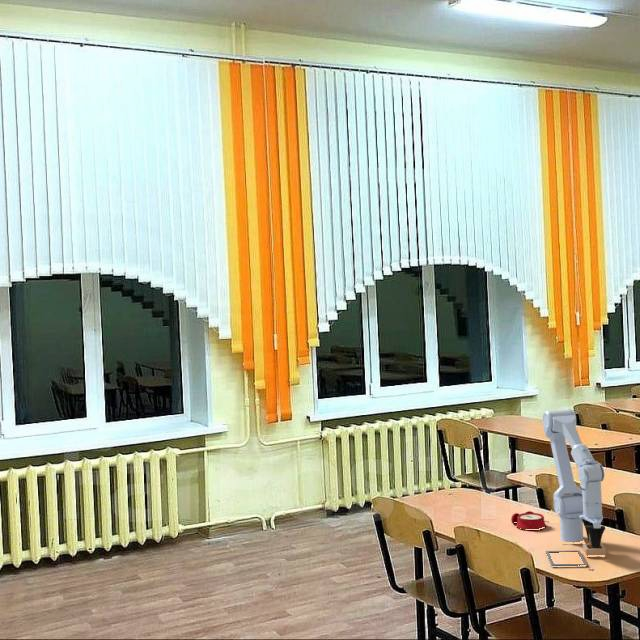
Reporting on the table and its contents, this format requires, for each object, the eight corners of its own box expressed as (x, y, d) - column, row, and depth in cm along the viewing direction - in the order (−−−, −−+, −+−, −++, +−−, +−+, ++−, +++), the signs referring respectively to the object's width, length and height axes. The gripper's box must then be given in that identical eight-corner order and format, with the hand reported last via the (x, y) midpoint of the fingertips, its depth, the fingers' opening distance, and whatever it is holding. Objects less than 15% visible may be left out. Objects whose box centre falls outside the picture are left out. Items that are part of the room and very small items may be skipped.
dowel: (589, 553, 270) (588, 528, 270) (598, 553, 270) (597, 528, 270) (590, 556, 268) (589, 530, 267) (599, 555, 267) (598, 530, 267)
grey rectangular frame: (545, 554, 273) (545, 550, 273) (579, 554, 271) (579, 550, 271) (551, 568, 259) (551, 565, 259) (587, 568, 258) (587, 564, 258)
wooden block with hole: (583, 552, 272) (582, 543, 272) (602, 552, 272) (602, 543, 271) (586, 559, 266) (586, 549, 266) (606, 558, 266) (605, 549, 265)
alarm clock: (527, 523, 296) (505, 504, 310) (525, 539, 298) (504, 520, 311) (553, 519, 299) (530, 500, 313) (551, 535, 301) (529, 516, 314)
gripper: (575, 496, 276) (577, 537, 277) (583, 508, 262) (585, 551, 262) (597, 495, 275) (599, 537, 276) (606, 507, 261) (608, 551, 261)
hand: (594, 544), depth 269 cm, fingers open, 6 cm apart
